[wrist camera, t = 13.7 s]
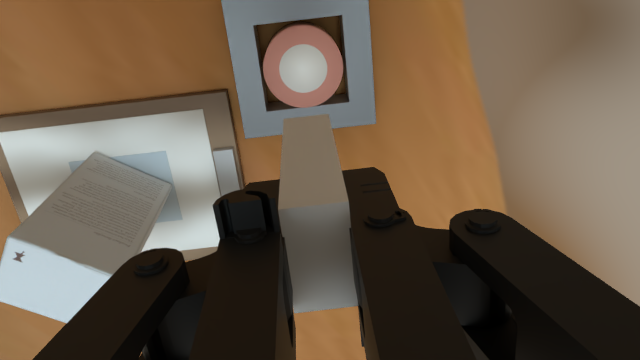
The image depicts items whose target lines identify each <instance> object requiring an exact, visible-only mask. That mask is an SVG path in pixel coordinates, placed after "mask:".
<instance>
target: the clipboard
mask: <svg viewBox="0 0 640 360" xmlns="http://www.w3.org/2000/svg"><path fill="white" fill-rule="evenodd" d="M93 152H96V153H98V154H100V155H103V156H105V157H107V158H110V159H112V160H115V161H117V162H119V163H122V164H124V165H126V166H129V167H131V168H134V169H136V170H138V171H141V172H143V173H145V174H148V175H150V176H153V177H155V178H157V179H160V180H162V181H165V182H167V183H169V184H171V185H172V188H171V190H170V193H169V195H168V197H167V199H166V202H165V204H164V206H163V208H162V210H161V213H160V215H159V217H158V219H157V221H156V223H155V225H154V227H153V230H152V232H151V234H150V236H149V238H148V239H147V241H146V243H145V245H144V247H143V249H142V251H141V252H143V251H146V250H148V251H149V250H150V249H154V248H172V249H177V250H178V251H180V252H182V254H183V257H184V260H194V259H198V258H202V257H204V256H207V255H210V254H212V253H214V252H216V251H217V248H218V244H219V240H220V238H219V233H218V228H217V224H216V219H215V215H214V210H213V204H214V203H215V201H216V200H217V199H218V198H220V197H222V196H223V195H225V194H228V193H230V192H233V191H236V190H241V189H244V188H245V183H244V178H243V172H242V167H241V161H240V156H239V150H238V145H237V140H236V134H235V129H234V123H233V118H232V112H231V107H230V101H229V96H228V90H227V89H224V90H215V91H206V92H198V93H189V94H180V95H172V96H163V97H155V98H146V99H137V100H129V101H120V102H111V103H103V104H94V105H85V106H77V107H68V108H59V109H51V110H42V111H33V112H25V113H16V114H8V115H0V171H1V173H2V176H3V178H4V181H5V183H6V186H7V189H8V191H9V194H10V196H11V199H12V201H13V204H14V206H15V209H16V211H17V214H18V216H19V219H20V221H21V224H22V223H23V222H24V221H25V220H26V219H27V218H28V216H30V215H31V214H32V213H33V212H34V211H35V209H36V208H37V207H39V206H40V205H41V204H42V203H43V202H44V201H45V200H46V199H47V198H48V197H49V196H50V195H51V194H52V193H53V192H54V191H55V190H56V189H57V188H58V187H59V186H60V185H61V184H62V183H63V182H64V181H65V180H66V179H67V178H68V177H69V176H70V175H71V174H72V173H73V172H74V171H75V170H76V169H77V168H78V167H79V166H80V165H81V164H82V163H83V162H84V161H85V160H86V159H87V158H88V157H89V156H90V155H91V154H92V153H93Z"/></svg>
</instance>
